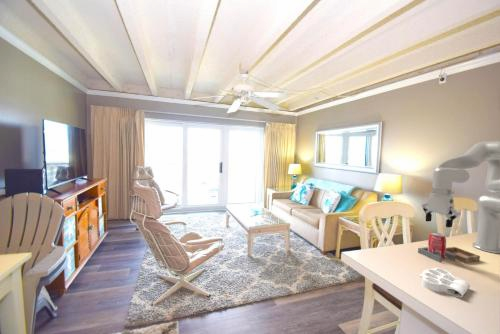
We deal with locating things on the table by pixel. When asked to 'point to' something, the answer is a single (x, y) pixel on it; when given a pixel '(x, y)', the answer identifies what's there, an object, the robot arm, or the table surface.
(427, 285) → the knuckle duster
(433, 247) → the soda can
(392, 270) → the table surface
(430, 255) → the frame
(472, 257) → the tray
